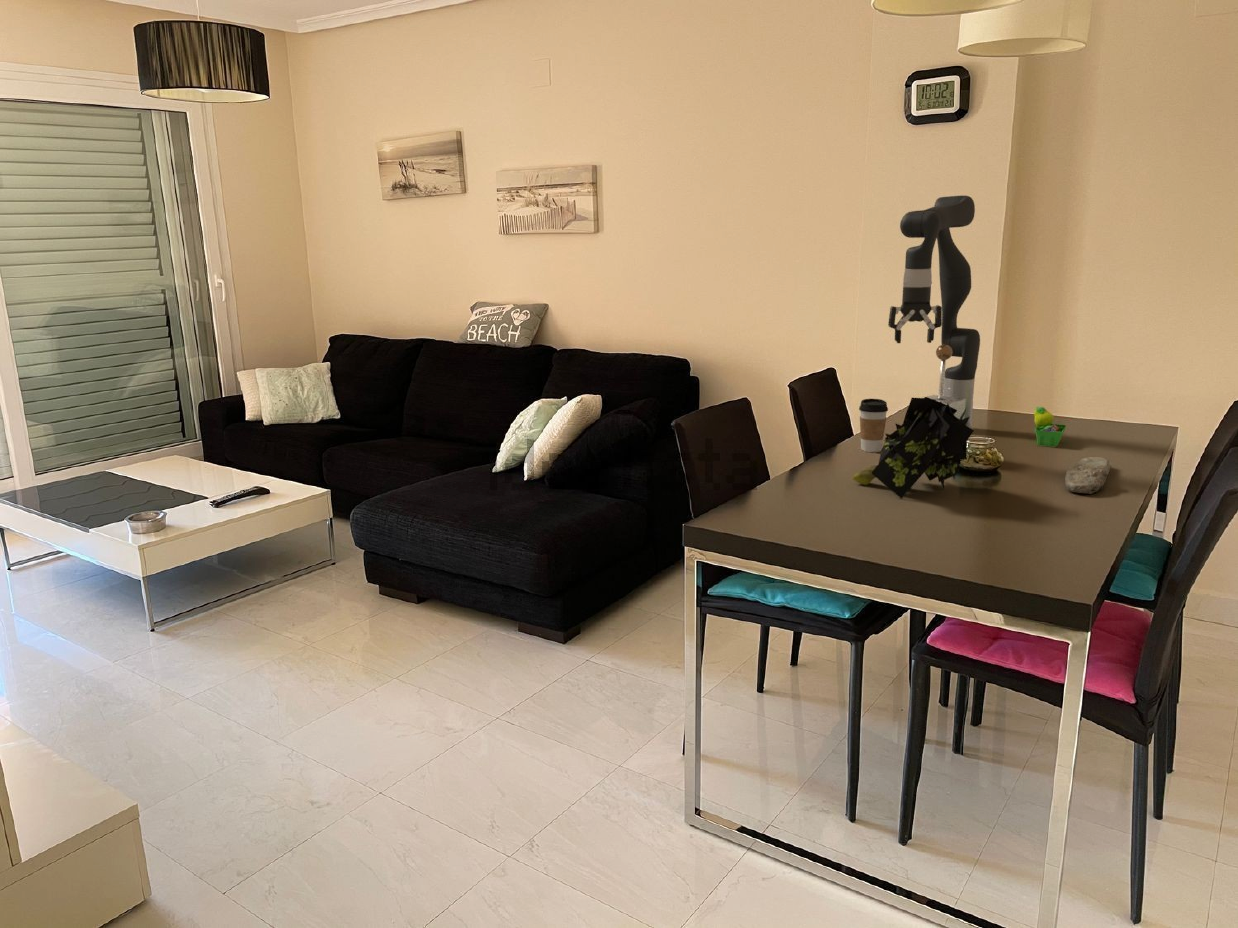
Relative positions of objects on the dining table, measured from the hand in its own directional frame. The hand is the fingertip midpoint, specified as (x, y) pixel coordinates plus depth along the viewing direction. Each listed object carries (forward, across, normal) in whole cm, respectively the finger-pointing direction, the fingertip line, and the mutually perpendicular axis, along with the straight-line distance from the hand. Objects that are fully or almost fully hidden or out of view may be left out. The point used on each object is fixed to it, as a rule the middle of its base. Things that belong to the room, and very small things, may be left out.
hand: (913, 342), depth 261 cm
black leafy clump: (+33, +8, +37) cm, 50 cm away
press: (+33, -8, +2) cm, 34 cm away
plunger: (+22, -8, +2) cm, 24 cm away
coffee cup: (+33, +9, -6) cm, 35 cm away
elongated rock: (+34, -41, +26) cm, 59 cm away
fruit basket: (+34, -46, -16) cm, 59 cm away
